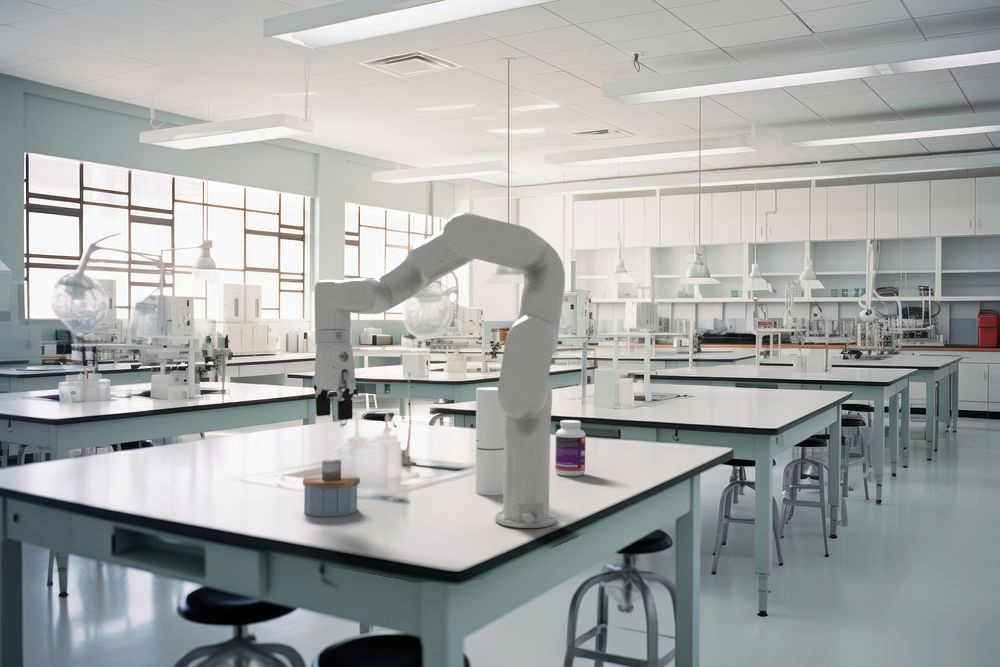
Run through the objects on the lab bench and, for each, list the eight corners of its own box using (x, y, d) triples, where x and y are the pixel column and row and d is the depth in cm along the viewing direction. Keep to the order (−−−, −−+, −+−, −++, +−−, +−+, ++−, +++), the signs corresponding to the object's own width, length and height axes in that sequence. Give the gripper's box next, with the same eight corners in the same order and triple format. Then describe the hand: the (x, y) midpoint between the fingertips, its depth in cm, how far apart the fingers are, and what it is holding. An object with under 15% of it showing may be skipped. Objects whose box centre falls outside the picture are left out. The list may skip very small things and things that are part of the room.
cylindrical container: (498, 488, 202) (499, 387, 202) (509, 494, 196) (510, 389, 195) (471, 490, 200) (472, 387, 199) (481, 496, 193) (482, 390, 193)
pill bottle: (586, 477, 218) (587, 423, 217) (556, 477, 218) (557, 423, 217) (583, 471, 226) (584, 419, 225) (554, 471, 226) (554, 419, 225)
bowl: (356, 516, 172) (357, 487, 172) (303, 517, 171) (303, 488, 170) (357, 504, 183) (357, 477, 183) (306, 505, 181) (306, 478, 181)
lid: (358, 488, 171) (358, 465, 171) (299, 489, 170) (299, 465, 170) (361, 477, 183) (361, 455, 183) (306, 477, 182) (306, 456, 182)
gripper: (368, 337, 172) (369, 419, 172) (329, 337, 185) (330, 412, 185) (336, 338, 167) (337, 422, 167) (298, 337, 180) (299, 415, 181)
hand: (334, 417), depth 176 cm, fingers open, 9 cm apart
